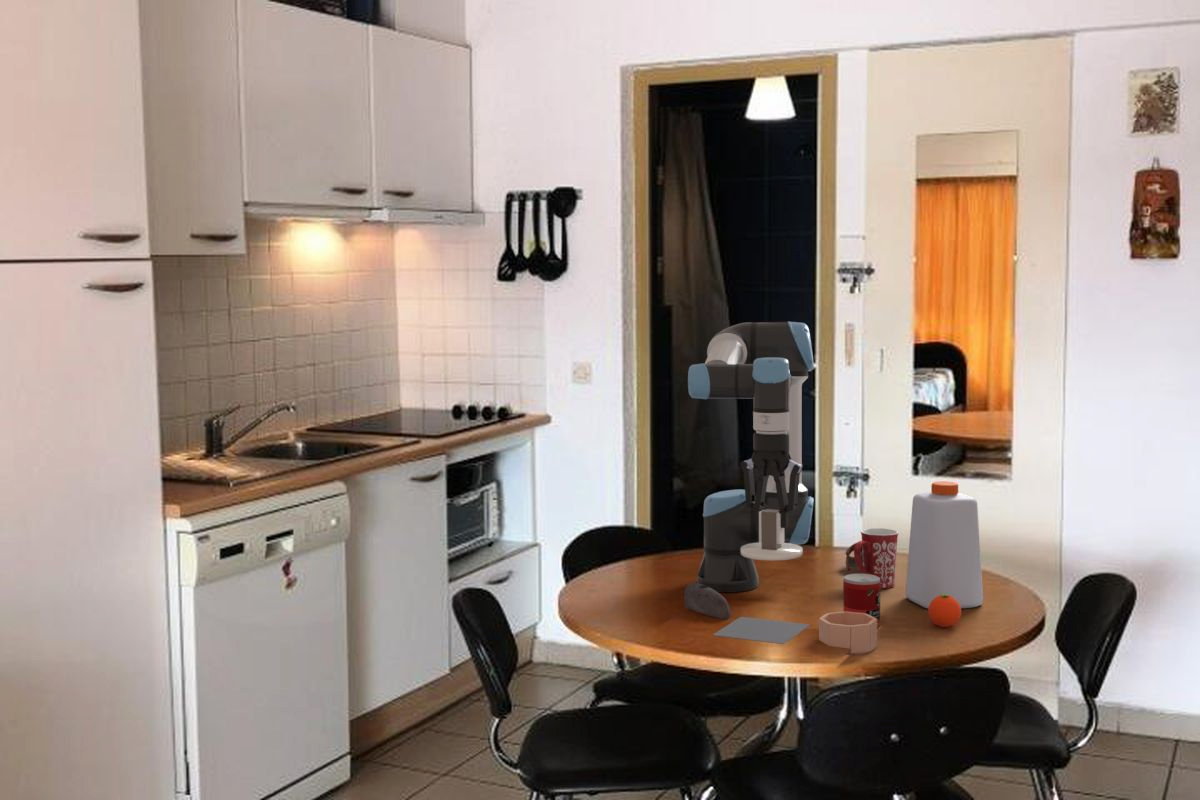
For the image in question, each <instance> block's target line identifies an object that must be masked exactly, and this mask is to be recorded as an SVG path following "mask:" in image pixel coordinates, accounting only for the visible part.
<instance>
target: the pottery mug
mask: <svg viewBox="0 0 1200 800" xmlns="http://www.w3.org/2000/svg"><path fill="white" fill-rule="evenodd" d="M856 543H857V542H855V543H853V544H852V545H850V546H849V547H848V548H847V549H846V551H845V555H846V558H845V566H846V569H847V571H850V568H858V566H857V564H856V561H855V557H854V556H850V555H851V554H852V552H854V548H855V545H856ZM860 557H861V561H862V563H863V552H862V547H861V551H860Z"/></svg>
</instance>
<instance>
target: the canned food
mask: <svg viewBox="0 0 1200 800" xmlns="http://www.w3.org/2000/svg"><path fill="white" fill-rule="evenodd" d="M842 587H843V588H842V591H843V593H842V594H843V598H842V599H843V603H842V604H843V607H842V608H843V611H848V612H857V613H866V614H869V615H871V616H872V617H874V618H876V619H877V630H878V629H879V628H880V624H879V623H881V589H880V578H879V577H877V576H875V575H870V574H862V573H850V574H846V575H844V577H843V585H842ZM843 611H842V612H843ZM878 624H879V625H878Z"/></svg>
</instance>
